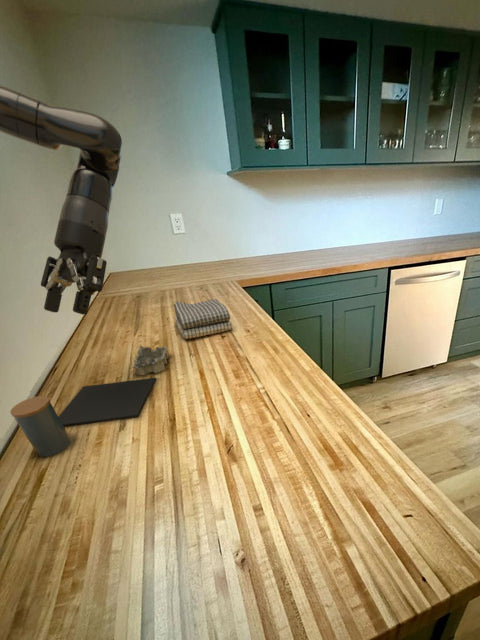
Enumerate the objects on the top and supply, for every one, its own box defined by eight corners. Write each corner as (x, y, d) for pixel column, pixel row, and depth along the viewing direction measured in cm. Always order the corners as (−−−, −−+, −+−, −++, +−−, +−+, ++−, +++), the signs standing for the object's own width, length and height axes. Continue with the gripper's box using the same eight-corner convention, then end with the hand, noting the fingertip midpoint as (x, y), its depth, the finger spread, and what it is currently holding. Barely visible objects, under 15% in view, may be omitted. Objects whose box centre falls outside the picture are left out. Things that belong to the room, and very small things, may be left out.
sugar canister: (30, 459, 60) (2, 417, 55) (47, 438, 65) (22, 398, 60) (62, 455, 60) (37, 412, 55) (77, 434, 65) (55, 394, 60)
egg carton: (144, 358, 92) (140, 344, 90) (172, 354, 93) (168, 341, 91) (133, 377, 83) (127, 362, 81) (164, 373, 84) (159, 358, 82)
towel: (184, 343, 99) (178, 318, 95) (175, 324, 113) (169, 301, 109) (234, 331, 104) (230, 306, 100) (219, 314, 118) (215, 292, 114)
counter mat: (51, 428, 67) (50, 426, 67) (84, 388, 80) (83, 386, 80) (138, 417, 68) (137, 414, 68) (156, 379, 81) (155, 377, 81)
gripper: (38, 220, 63) (19, 304, 61) (88, 214, 57) (68, 307, 56) (78, 240, 69) (62, 316, 68) (126, 237, 64) (109, 320, 62)
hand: (64, 312), depth 62 cm, fingers open, 8 cm apart
